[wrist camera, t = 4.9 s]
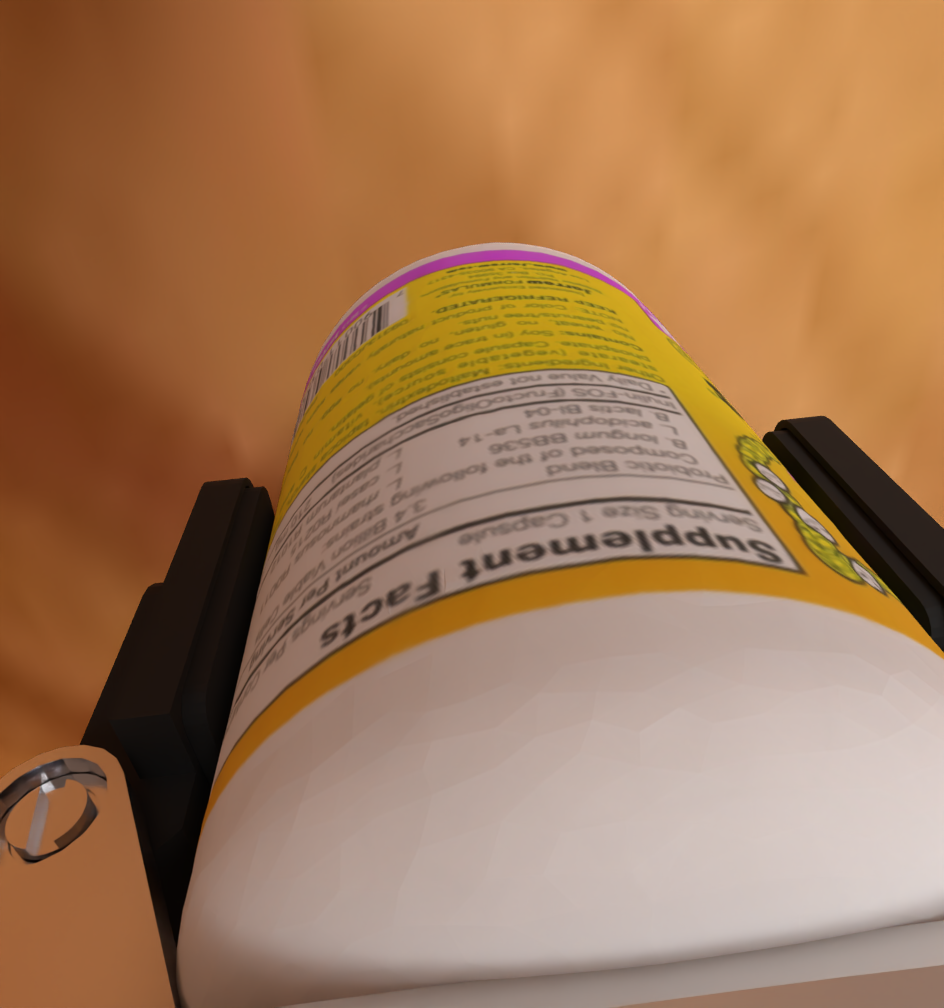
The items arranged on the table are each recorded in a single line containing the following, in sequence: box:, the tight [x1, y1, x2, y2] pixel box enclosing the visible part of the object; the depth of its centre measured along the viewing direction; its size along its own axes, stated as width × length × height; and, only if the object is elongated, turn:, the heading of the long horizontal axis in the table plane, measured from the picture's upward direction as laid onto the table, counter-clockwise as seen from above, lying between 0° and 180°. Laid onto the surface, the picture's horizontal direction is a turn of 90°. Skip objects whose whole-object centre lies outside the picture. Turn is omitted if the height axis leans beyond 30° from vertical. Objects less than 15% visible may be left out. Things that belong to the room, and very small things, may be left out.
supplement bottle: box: [176, 243, 944, 1008], centre depth 8 cm, size 7×7×13 cm
